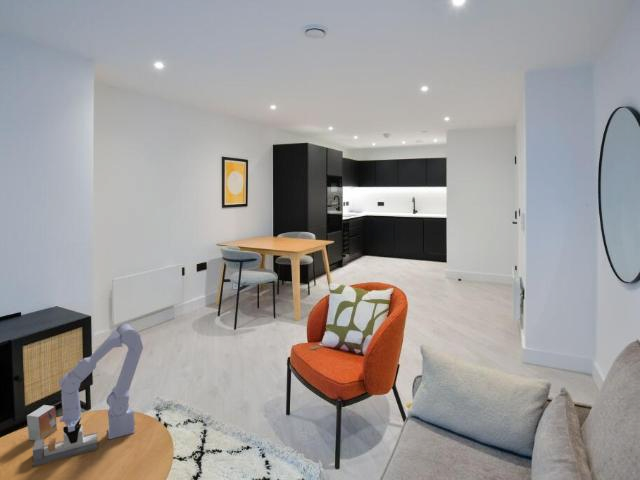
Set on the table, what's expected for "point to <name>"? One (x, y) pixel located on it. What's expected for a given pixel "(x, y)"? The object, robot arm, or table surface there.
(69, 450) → the rail board
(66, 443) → the block
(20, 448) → the table surface
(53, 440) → the orange block
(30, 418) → the small box
